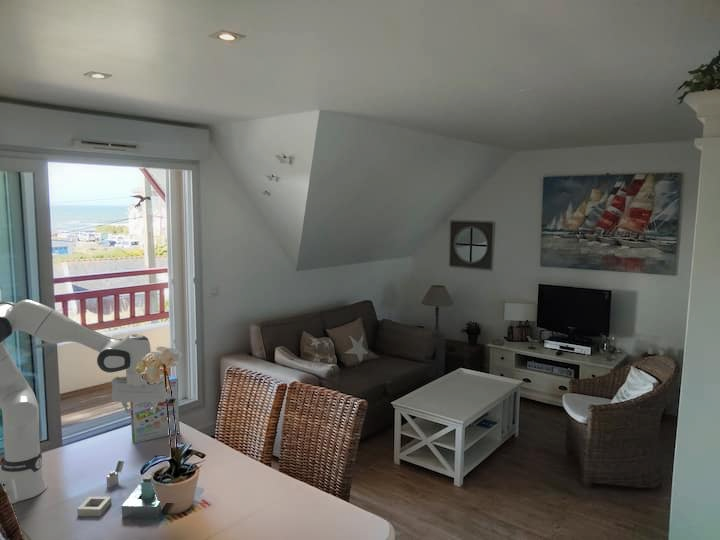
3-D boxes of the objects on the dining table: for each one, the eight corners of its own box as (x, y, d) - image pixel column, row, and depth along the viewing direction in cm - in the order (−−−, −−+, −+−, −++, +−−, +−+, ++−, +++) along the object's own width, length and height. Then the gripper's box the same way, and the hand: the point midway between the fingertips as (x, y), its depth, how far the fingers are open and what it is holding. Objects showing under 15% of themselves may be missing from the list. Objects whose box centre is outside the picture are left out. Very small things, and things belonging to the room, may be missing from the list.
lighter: (109, 487, 201) (109, 468, 200) (106, 486, 202) (105, 467, 201) (125, 479, 207) (124, 460, 206) (121, 478, 208) (121, 459, 207)
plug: (141, 506, 187) (140, 479, 186) (145, 500, 191) (144, 474, 189) (151, 506, 187) (150, 479, 186) (155, 501, 191) (154, 474, 189)
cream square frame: (77, 515, 183) (77, 508, 182) (89, 502, 191) (89, 496, 190) (100, 516, 183) (100, 509, 182) (111, 503, 191) (111, 496, 190)
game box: (177, 429, 254) (175, 375, 251) (180, 433, 250) (178, 378, 246) (131, 439, 243) (128, 382, 240) (133, 443, 238) (130, 385, 235)
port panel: (122, 518, 182) (121, 504, 181) (139, 496, 195) (138, 483, 195) (156, 518, 181) (156, 505, 181) (171, 496, 195) (171, 484, 195)
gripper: (107, 379, 195) (109, 415, 197) (162, 380, 195) (163, 416, 197) (115, 374, 202) (117, 408, 203) (168, 375, 201) (169, 409, 203)
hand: (140, 412), depth 200 cm, fingers open, 8 cm apart
